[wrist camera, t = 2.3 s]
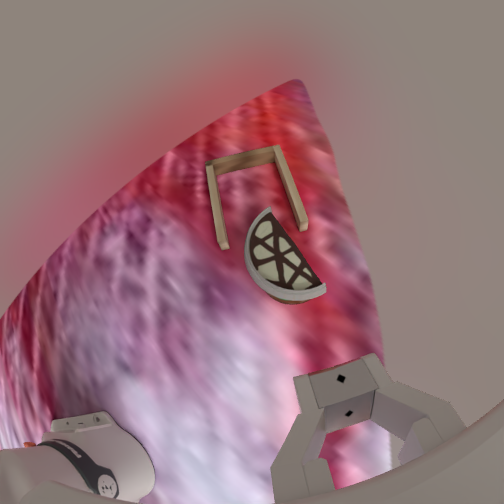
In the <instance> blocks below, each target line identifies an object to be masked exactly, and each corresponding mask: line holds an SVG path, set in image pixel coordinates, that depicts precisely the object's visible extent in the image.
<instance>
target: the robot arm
mask: <svg viewBox="0 0 504 504" xmlns="http://www.w3.org/2000/svg"><path fill="white" fill-rule="evenodd" d="M293 380H294V385H295V390H296V395H297V400H298V405H299V409H300V413H301V414H298V415H297V417H296V419H295V422H294V424H293V426H292V428H291V430H290V432H289V434H288V436H287V438H286V440H285V442H284V444H283V445H282V447H281V449H280V451H279V453H278V455H277V457H276V459H275V460H274V462H273V464H272V466H271V468H270V469H271V476H272V484H273V492H274V499H275V503H274V504H504V399H503V400H502V401H501V402H500V403H499V404H497V405H496V406H495V407H494V408H493V409H491V410H490V411H489V412H488V413H486V414H485V415H484V416H483V417H481V418H480V419H479V420H477V421H476V422H474V423H473V424H472V425H470V426H469V427H466V426H465V424H464V423H463V421H462V420H461V418H460V417H459V415H458V414H457V412H456V411H455V409H454V408H453V407H452V405H451V404H450V402H447V401H445V400H442V399H439V398H437V397H434V396H432V395H429V394H427V393H424V392H422V391H419V390H417V389H414V388H412V387H410V386H407V385H405V384H402V383H400V382H398V381H397V382H394V383H393V381H392V380H391V378H390V376H389V375H388V373H387V371H386V370H385V368H384V367H383V365H382V364H381V362H380V360H379V359H378V357H377V356H376V354H374V353H371V354H368V355H366V356H363V357H360V358H357V359H354V360H351V361H348V362H345V363H342V364H339V365H336V366H334V367H331V368H327V369H323V370H319V371H315V372H312V373H308V374H304V375H300V376H296V377H293ZM98 418H99V419H100V421H99V420H98ZM369 419H371V420H372V421H373V422H375V423H376V424H378V425H379V426H381V427H382V428H384V429H386V430H387V431H389V432H390V433H392V434H394V435H395V436H397V437H398V438H400V439H402V440H403V441H405V442H404V445H403V447H402V449H401V451H400V453H399V455H398V459H399V461H400V463H401V466H399V467H397V468H395V469H392V470H390V471H388V472H385V473H383V474H381V475H378V476H376V477H373V478H370V479H368V480H365V481H362V482H359V483H356V484H354V485H351V486H347V487H344V488H341V489H338V490H335V487H334V484H333V480H332V477H331V474H330V470H329V467H328V463H327V460H325V459H322V458H319V459H317V458H318V456H319V453H320V450H321V448H322V445H323V442H324V439H325V436H326V433H330V432H333V431H336V430H339V429H342V428H345V427H347V426H351V425H354V424H357V423H360V422H363V421H366V420H369ZM24 446H25V447H24V448H12V449H3V450H0V504H142V503H139V500H140V499H141V498H142V497H144V496H146V495H147V494H149V493H150V491H151V490H152V488H153V486H154V482H155V473H154V468H153V465H152V462H151V460H150V458H149V456H148V454H147V453H146V451H145V450H144V448H143V447H142V446H141V445H140V443H139V442H138V441H137V440H136V439H135V438H134V437H132V436H131V435H130V434H129V433H127V432H126V431H124V430H123V429H121V428H120V427H119V426H118V425H117V424H116V423H115V421H114V420H113V418H112V417H111V416H110V415H109V414H108V413H107V412H105V411H101V412H96V413H91V414H86V415H80V416H75V417H69V418H62V419H56V420H53V421H52V425H51V432H44V434H43V436H42V443H40V444H38V445H37V446H36V444H35V443H32V442H25V443H24Z"/></svg>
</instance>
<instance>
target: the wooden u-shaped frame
mask: <svg viewBox="0 0 504 504" xmlns="http://www.w3.org/2000/svg"><path fill="white" fill-rule="evenodd" d="M272 162H275V163H276V166H277V168H278V171H279V174H280V176H281V179H282V182H283V185H284V188H285V190H286V193H287V196H288V199H289V202H290V205H291V208H292V211H293V214H294V216H295V219H296V222H297V225H298V228H299V232H301V231H305V230H307V226H308V218H307V215H306V212H305V210H304V207H303V204H302V201H301V199H300V196H299V193H298V191H297V188H296V186H295V183H294V180H293V178H292V175H291V173H290V170H289V168H288V165H287V163H286V160H285V158H284V155H283V153H282V150H281V148H280V146H279V145H276V146H271V147H266V148H261V149H256V150H252V151H247V152H243V153H239V154H234V155H230V156H226V157H222V158H218V159H214V160H211V161H207V162H205V164H206V171H207V178H208V185H209V191H210V198H211V204H212V210H213V217H214V223H215V229H216V235H217V241H218V243H219V245H220V247H221V249H222V250H225V249H229V242H228V237H227V232H226V227H225V221H224V216H223V211H222V205H221V200H220V194H219V189H218V183H217V177H216V176H217V175H220V174H224V173H228V172H232V171H237V170H241V169H245V168H249V167H254V166H258V165H263V164H267V163H272Z"/></svg>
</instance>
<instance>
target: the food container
mask: <svg viewBox="0 0 504 504" xmlns="http://www.w3.org/2000/svg"><path fill="white" fill-rule="evenodd" d="M244 258H245V263H246V267H247V270H248V272H249V273H250V275H251V277H252V278H253V280H254V281H255V282H256V283H257V284H258V285H259V286H260V287H261V288H262V289H263V290H265V291H266V293H267V294H268V295H269V296H270V297H271V298H273V299H274V300H276V301H278V302H281V303H284V304H300V303H304V302H306V301H308V300H310V299H312V298H315V297H318V296H320V295H322V294H324V293H326V286H325V285H326V283H324V284H322V283H321V281H320V279H319V278H318V277H317V276H316V274H315V273H314V272H313V270H312V269H311V267H310V266H309V264H308V263H307V261H306V260H305V258H304V257H303V255H302V254H301V252H300V251H299V249H298V248H297V246H296V245H295V243H294V242H293V241H292V239H291V238H290V237H289V236H288V234H287V233H286V232H285V230H284V229H283V228H282V226H281V225H280V224H279V222H278V221H277V220H276V218H275V217H274V216H273V214H272V211H271V206H270V207H268V208H266V209H265V210H264V211H263V212H261V213H260V214H259V215H258V216H257V218H256V219H255V220H254V221H253V223H252V225H251V226H250V228H249V230H248V233H247V236H246V241H245V246H244Z"/></svg>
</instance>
